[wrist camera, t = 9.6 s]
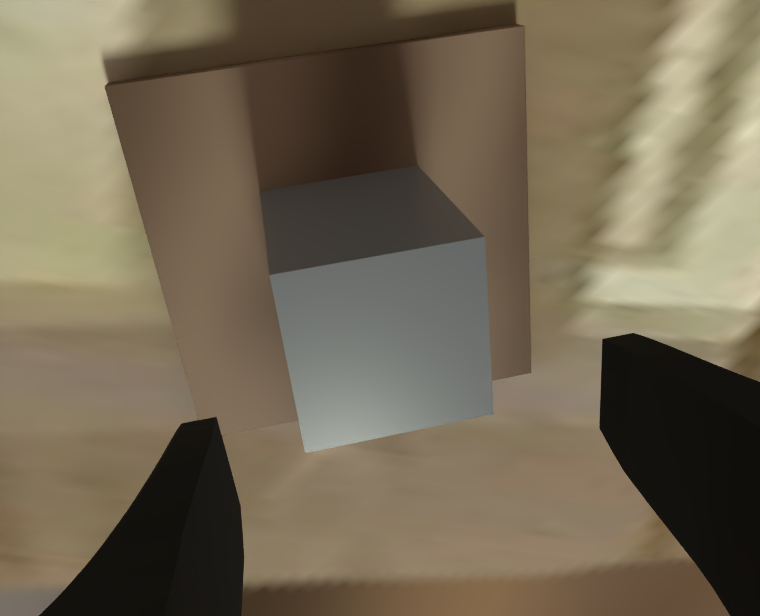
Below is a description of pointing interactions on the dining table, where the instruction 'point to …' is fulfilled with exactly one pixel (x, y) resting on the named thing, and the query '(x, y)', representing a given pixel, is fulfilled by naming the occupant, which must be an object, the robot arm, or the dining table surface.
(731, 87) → the dining table surface
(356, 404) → the grey rectangular block
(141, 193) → the post board
